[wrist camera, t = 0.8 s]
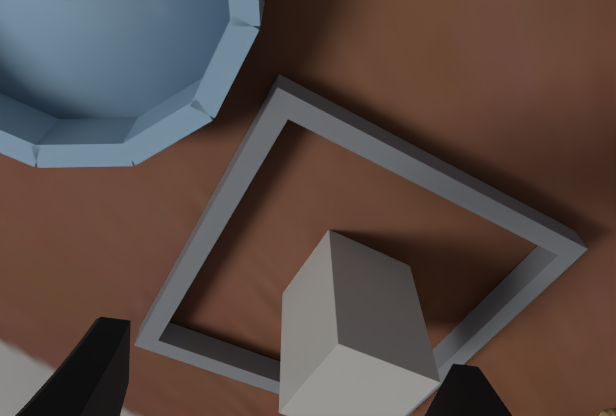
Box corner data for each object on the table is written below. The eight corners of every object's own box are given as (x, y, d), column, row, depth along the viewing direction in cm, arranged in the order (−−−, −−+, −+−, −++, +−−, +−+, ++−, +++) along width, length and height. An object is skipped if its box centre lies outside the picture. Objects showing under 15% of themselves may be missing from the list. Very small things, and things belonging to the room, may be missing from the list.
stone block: (409, 265, 23) (440, 382, 18) (359, 323, 25) (374, 444, 20) (329, 229, 22) (338, 343, 17) (282, 293, 24) (279, 412, 19)
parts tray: (574, 230, 22) (588, 249, 21) (387, 411, 28) (390, 431, 28) (278, 73, 18) (277, 87, 17) (140, 325, 25) (134, 345, 24)
